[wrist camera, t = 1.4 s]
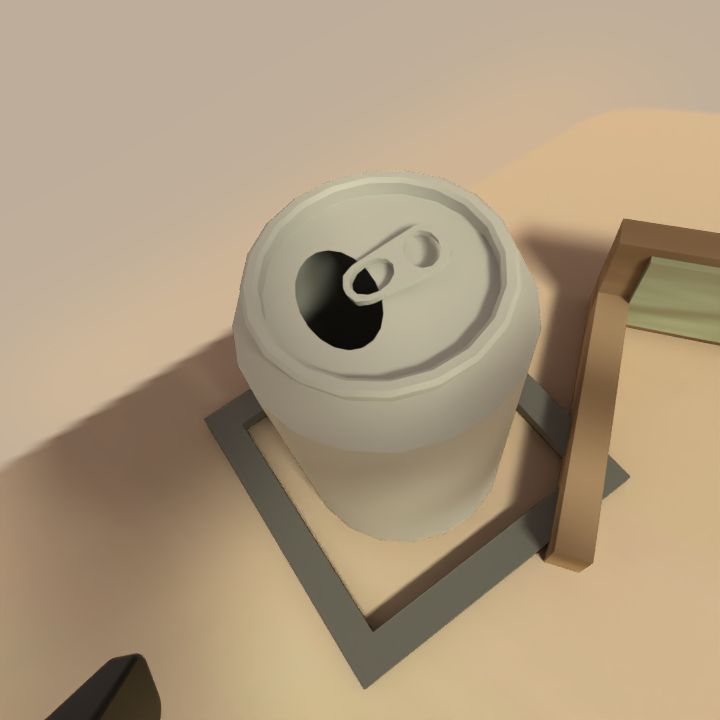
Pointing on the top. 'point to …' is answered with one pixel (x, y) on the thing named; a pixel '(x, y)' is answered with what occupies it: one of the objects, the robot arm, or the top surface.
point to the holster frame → (440, 601)
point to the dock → (604, 352)
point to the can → (389, 346)
